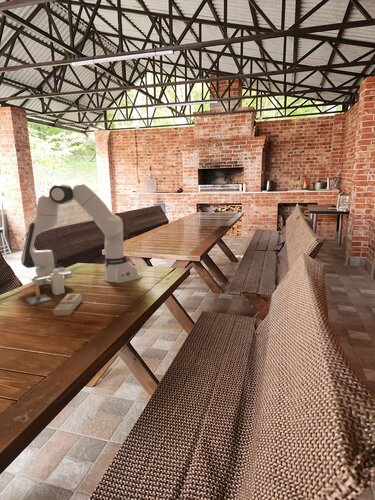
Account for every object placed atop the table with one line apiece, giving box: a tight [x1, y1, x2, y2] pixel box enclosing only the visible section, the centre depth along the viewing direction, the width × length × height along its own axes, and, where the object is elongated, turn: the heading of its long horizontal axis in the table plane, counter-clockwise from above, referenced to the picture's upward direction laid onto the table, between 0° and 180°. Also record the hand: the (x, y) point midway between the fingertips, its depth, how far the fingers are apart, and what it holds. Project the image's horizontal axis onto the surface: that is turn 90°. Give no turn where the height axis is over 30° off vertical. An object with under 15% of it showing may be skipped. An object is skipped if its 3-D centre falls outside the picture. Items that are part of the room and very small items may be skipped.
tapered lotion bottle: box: [50, 269, 66, 296], centre depth 171 cm, size 5×5×13 cm
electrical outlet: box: [52, 293, 83, 316], centre depth 152 cm, size 7×4×18 cm
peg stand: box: [25, 285, 53, 307], centre depth 162 cm, size 10×10×8 cm
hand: (57, 281), depth 171 cm, fingers closed on tapered lotion bottle, 5 cm apart
